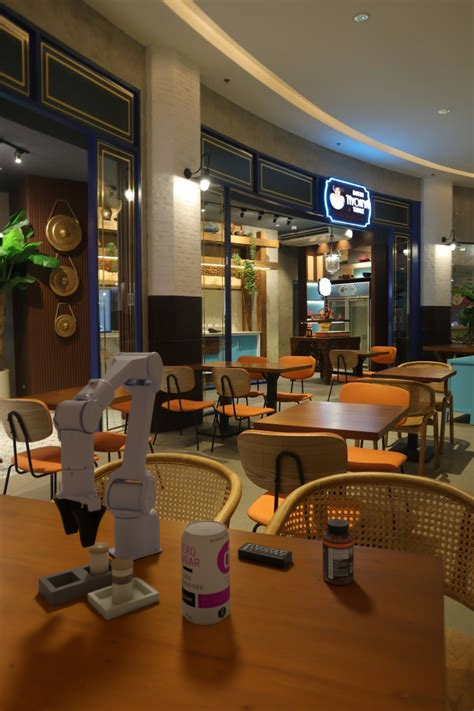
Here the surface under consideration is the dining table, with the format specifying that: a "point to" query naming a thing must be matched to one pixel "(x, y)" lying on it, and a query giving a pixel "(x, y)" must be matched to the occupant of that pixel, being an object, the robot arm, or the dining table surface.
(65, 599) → the block
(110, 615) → the parts tray
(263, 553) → the multiport hub
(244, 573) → the dining table surface
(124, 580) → the fuse
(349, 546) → the supplement bottle
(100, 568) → the cylinder
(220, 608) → the supplement can
